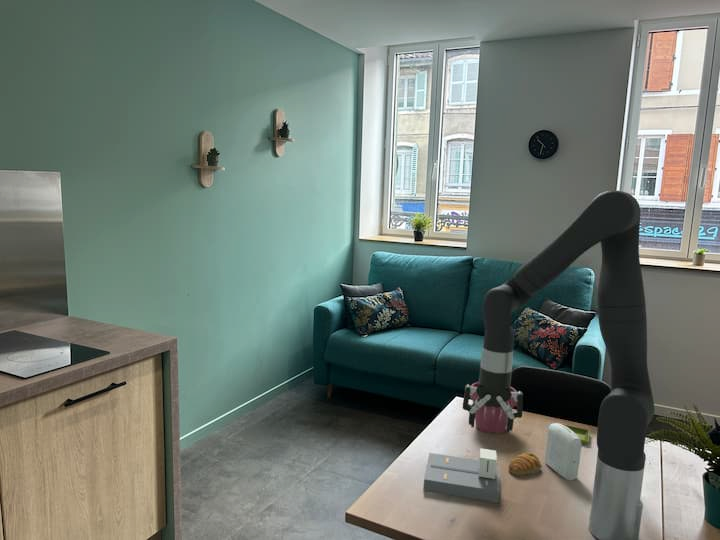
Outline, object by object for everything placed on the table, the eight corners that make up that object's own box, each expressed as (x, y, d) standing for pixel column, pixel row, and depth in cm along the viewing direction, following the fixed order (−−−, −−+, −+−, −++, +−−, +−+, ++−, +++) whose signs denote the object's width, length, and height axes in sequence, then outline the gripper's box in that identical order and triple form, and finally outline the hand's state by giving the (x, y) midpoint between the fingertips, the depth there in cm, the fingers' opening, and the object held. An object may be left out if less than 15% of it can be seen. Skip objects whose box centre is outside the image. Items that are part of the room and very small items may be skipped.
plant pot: (521, 428, 170) (525, 389, 168) (500, 442, 159) (504, 401, 157) (481, 414, 179) (484, 377, 177) (459, 426, 169) (462, 387, 167)
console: (496, 473, 141) (497, 462, 140) (498, 502, 127) (499, 490, 127) (428, 463, 145) (429, 452, 144) (423, 490, 131) (424, 478, 131)
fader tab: (494, 468, 136) (496, 450, 136) (495, 479, 131) (496, 460, 131) (478, 466, 137) (480, 448, 136) (478, 476, 132) (480, 457, 132)
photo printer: (580, 479, 140) (585, 435, 138) (566, 481, 139) (571, 436, 137) (555, 460, 150) (559, 418, 148) (542, 461, 148) (546, 419, 147)
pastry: (523, 481, 138) (524, 467, 138) (501, 470, 143) (502, 457, 143) (543, 470, 144) (544, 457, 144) (521, 460, 149) (522, 447, 149)
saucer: (587, 447, 159) (588, 441, 159) (557, 440, 163) (557, 434, 163) (589, 436, 167) (589, 429, 167) (559, 429, 171) (560, 423, 170)
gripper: (466, 367, 128) (460, 431, 131) (527, 375, 125) (520, 440, 128) (466, 358, 135) (461, 418, 138) (525, 365, 132) (518, 426, 135)
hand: (490, 428), depth 133 cm, fingers open, 8 cm apart
